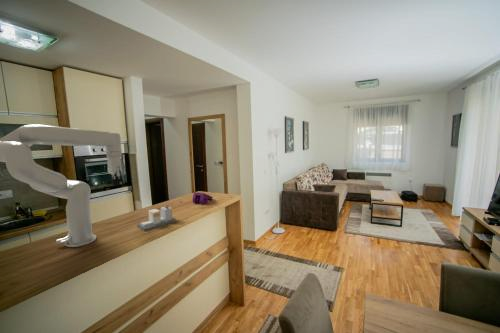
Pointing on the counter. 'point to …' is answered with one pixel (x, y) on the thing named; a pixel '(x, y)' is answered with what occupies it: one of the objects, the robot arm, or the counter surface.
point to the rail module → (154, 216)
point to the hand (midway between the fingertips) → (116, 185)
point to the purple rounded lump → (201, 198)
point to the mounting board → (165, 219)
